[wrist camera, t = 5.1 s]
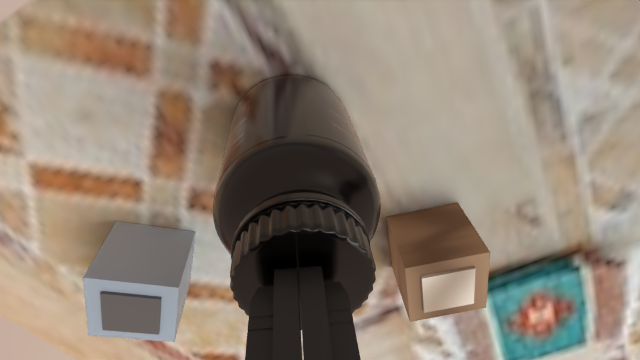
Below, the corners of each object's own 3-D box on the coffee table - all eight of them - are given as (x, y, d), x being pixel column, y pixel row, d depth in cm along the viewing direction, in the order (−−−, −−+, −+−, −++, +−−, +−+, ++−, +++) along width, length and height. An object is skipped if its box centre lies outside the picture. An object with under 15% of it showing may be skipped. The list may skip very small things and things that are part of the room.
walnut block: (457, 202, 27) (491, 254, 22) (456, 253, 29) (487, 310, 25) (385, 216, 27) (406, 271, 22) (391, 266, 29) (410, 324, 25)
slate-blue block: (195, 230, 26) (178, 290, 22) (190, 282, 29) (173, 344, 24) (116, 220, 25) (81, 280, 21) (118, 274, 28) (87, 338, 23)
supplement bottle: (275, 195, 25) (270, 372, 15) (208, 111, 21) (141, 266, 11) (370, 145, 24) (435, 303, 13) (314, 46, 20) (345, 158, 10)
